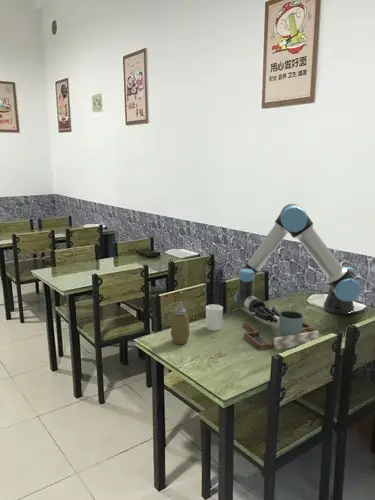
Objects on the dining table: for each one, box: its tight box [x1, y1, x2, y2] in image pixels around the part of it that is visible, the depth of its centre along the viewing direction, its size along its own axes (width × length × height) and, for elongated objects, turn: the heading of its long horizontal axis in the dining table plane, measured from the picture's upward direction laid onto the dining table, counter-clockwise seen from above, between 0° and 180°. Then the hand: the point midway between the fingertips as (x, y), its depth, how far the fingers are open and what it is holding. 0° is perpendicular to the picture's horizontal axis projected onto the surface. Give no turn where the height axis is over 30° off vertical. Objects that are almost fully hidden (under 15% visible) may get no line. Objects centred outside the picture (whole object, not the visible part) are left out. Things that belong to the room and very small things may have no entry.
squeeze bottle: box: [170, 300, 191, 345], centre depth 175 cm, size 8×8×18 cm
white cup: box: [205, 303, 224, 332], centre depth 192 cm, size 8×8×10 cm
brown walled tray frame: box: [242, 320, 320, 351], centre depth 186 cm, size 33×26×5 cm
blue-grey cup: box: [279, 310, 304, 337], centre depth 179 cm, size 10×10×12 cm
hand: (282, 323), depth 183 cm, fingers closed
